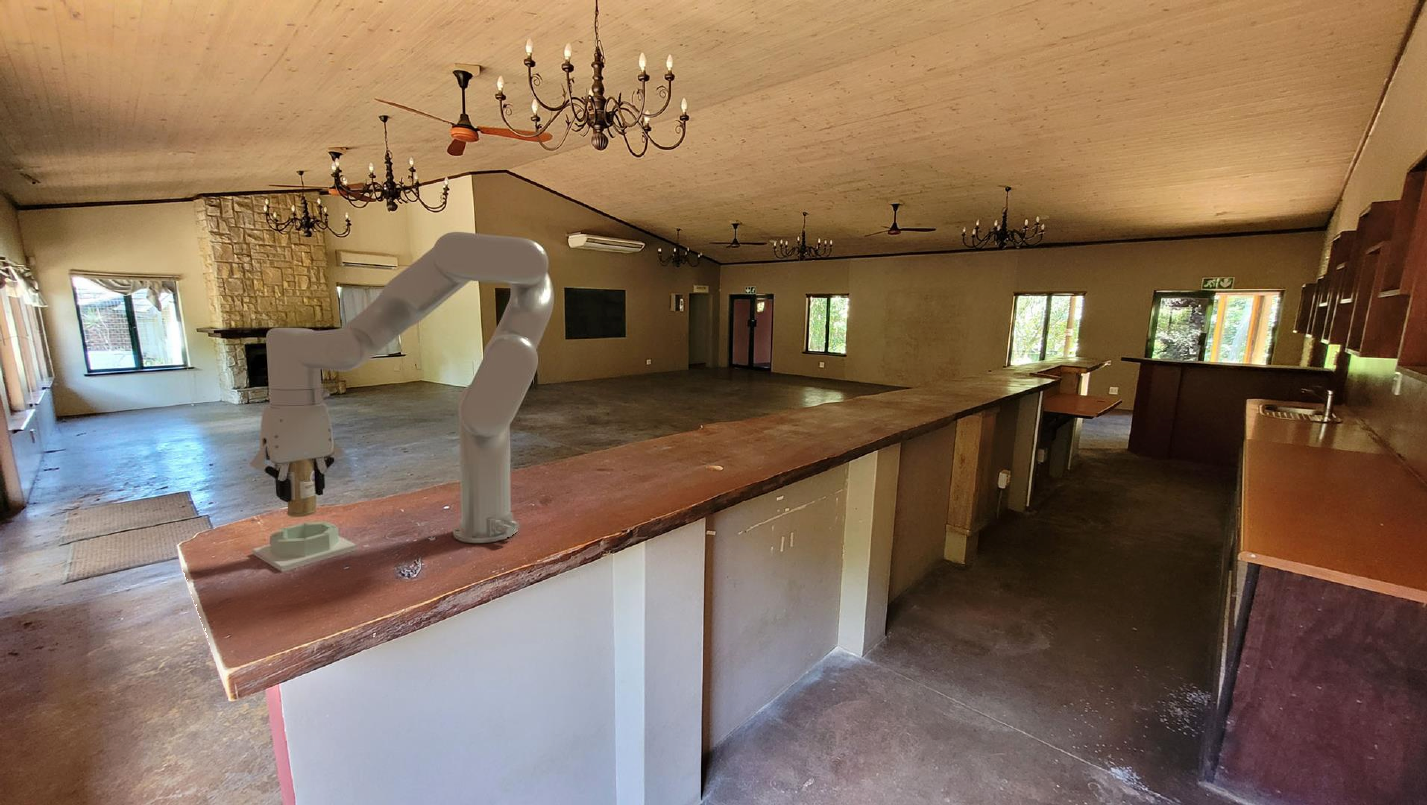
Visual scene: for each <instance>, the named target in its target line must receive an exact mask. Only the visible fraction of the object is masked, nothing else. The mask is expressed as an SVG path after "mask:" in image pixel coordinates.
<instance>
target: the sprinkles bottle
mask: <svg viewBox="0 0 1427 805" xmlns="http://www.w3.org/2000/svg"><path fill="white" fill-rule="evenodd" d="M302 454H306V452H304V453H302ZM287 479H288V480H290V485H291V501H290V502H286V504H287V513H286V514H287V516H289V517H290V518H291V517H292V518H301V517H307V516H311V515H313V514H315V513H317V512H318V507H317V499H316V498H317V497H316V495H317V494H316V487H315V471H314V459H302V460H299V461H296V462H292V463H289V468H288V472H287Z"/></svg>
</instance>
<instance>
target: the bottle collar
mask: <svg viewBox="0 0 1427 805" xmlns="http://www.w3.org/2000/svg"><path fill="white" fill-rule="evenodd" d="M357 550H358V544H357V543H355V542H353V541H350V540H348V539H347V538H343V537H342V536H339V526H337V525H336V524H333V523H331V522H329V521H321V522H320V521H318V522H316V521H315V522H313V521H312V522H302V523H298V524H294V525H290V526H285V527H281V528H279V529H278V530H277V531H275V532H273V533H272V534H271V535H269V544H267V545H263V546H259V547H256V548H252V555H254V556H256V557H257V558H259V559H260V560H262V561H263V562H265V563H266V564H268V565H270V566H272V567H274V568H275V569H276V570H278V571H279V572H282V573H283V572H287V571H291V570H294V569H296V568H301V567H304V566H307V565H310V564H315V563H318V562H320V561H324V560H327V559H330V558H334V557H337V556H341V555H345V554H349V553H350V552H354V551H357Z"/></svg>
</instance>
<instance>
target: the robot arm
mask: <svg viewBox="0 0 1427 805" xmlns="http://www.w3.org/2000/svg"><path fill="white" fill-rule="evenodd" d="M549 263H550V262H549V257H548V255H547V252H546V251H545V249H544V247H542V246H541V245H540V244H539V243H537V242H536V241H534V240H532V239H529V238H525V237H518V236H516V237H514V236H505V235H492V234H482V233H476V232H465V231H464V232H463V231H452V232H451V231H450V232H448V233H445V234H443V235H441V236H440V237H439V238H438V239H437V240H436V241H435V243H434V245H433V247H432V248H431V249H429V250H428V251H427V252H425V253H424V254H423V255H421V257H419V258H418V259H417V260H416V261H414V262H413V263H411V264H410V265H409V266H408V267H406V268H405V269H404V270H402V271H401V272H399V274H397V275H396V276H394V277H393V278H392V279H391V280H389V281H388V283H386V284H385V286H384V287H383V289H382V290H381V291H380V293H379V295H378V296H377V297H376V298H375V299H374V300H373V301H372V302H371V303H370V304H369V305H368V306H367V307H366V308H365V309H363V310H362V311H361V312H359V313H358V314H357V315H356V316H355V317H353V318H352V319H351V320H349V321H348V322H347V323H345V324H344V325H342V326H341V327H339V328H335V329H327V330H314V329H312V328H311V329H309V328H303V327H273V328H271V329H269V330H268V331H267V333H266V338H265V339H266V340H265V341H266V343H265V344H266V358H267V359H266V361H267V376H268V378H267V379H268V391H269V392H268V393H269V394H268V395H269V405H265V406H264V407H263V411H262V416H261V421H260V422H261V424H260V433H259V434H260V436H259V440H260V441H259V451H258V452H257V453H256V455H255V456H254V457H253V459H252V460H251V461H250V463H249V466H250V467H252V468H255V469H256V470H259V471H262V472H264V473H265V474H267V475H268V476H270V477H272V478H274V479H275V481H274V484H275V495H276V497H277V498H279V500H281V501H282V502H285V503H287V502H290V501H291V485H290V480H288V479H287V472H288V468H289V463H292V462H296V461H299V460H302V459H314V471H315V487H316V495H317V496H323V495H324V489H325V488H326V480H325V479H326V477H325V474H326V473H327V472H328V469H329V468H330V467H331V466H332V465H333V464H334V462H335V461H336V460H337V459H339V458H340V457H341V456H342V455H343V454H344V453H345V452H344V450H343V449H342V448H341V447H340V446H339V445H338V443H336V442H335V440H334V434H333V426H332V420H331V418H330V417H331V416H330V414H329V410H328V407H327V404H326V403H325V402H324V398H326V397H330V395H331V391H330V389H328V388H327V389H324V388H323V386H322V375H321V374H322V373H321V370H325V371H333V372H349V371H353V370H356V369H358V368H360V367H361V366H363V365H364V364H366V363H367V362H369V361H370V360H371V359H372V358H374V356H376V355H377V354H379V352H381V351H382V350H383V349H384V348H385V347H386V346H387V347H388V345H389V344H390V343H392V342H394V341H395V340H396V339H397V338H398V337H399V336H400V335H402V334H403V333H405V331H407V330H408V329H410V328H411V327H413V326H415V325H416V324H417V325H418V324H419V323H420V322H422V320H423V319H425V318H426V317H427V316H429V315H430V314H432V313H433V311H434V310H436V309H438V308H439V307H440V305H443V303H444V302H446V301H447V300H448V299H449V298H451V297H452V296H453V295H454V294H456V293H457V292H459V291H460V290H461V289H462V288H464V286H466V285H467V284H468V283H470V282H471V281H472V282H480V283H481V282H483V283H496V284H497V283H498V284H508V286H509V289H510V294H509V295H510V296H509V301H508V303H507V305H506V307H505V310H504V312H503V314H502V316H501V319H500V321H499V323H498V325H497V326H496V329H495V330H494V333H493V335H492V336H491V338H490V340H489V341H488V342H487V344H486V345H485V348H484V350H483V358H482V360H481V361H480V365H479V367H478V369H477V371H476V372H475V375H474V377H473V378H472V381H471V383H470V384H469V385H467V386H466V387H464V389H463V390H462V391H461V393H460V396H459V398H458V402H457V403H458V404H457V406H458V408H457V410H458V412H457V413H458V430H459V473H460V474H459V475H460V478H459V480H460V483H459V484H460V507H461V508H460V516H461V517H460V518H461V519H460V520H461V521H460V522H461V523H458V524H457V525H456V526H455V527H454V528H453V529H452V530H453V531H452V536H453V538H454V539H456V540H457V541H460V542H462V543H467V544H486V543H487V544H488V543H494V542H499V540H500V541H503V540H506V539H508V538H507V537H509V538H511V537H513V536H514V535H515V533H516V532H517V533H518V531H519V529H518V528H520V527H521V526H520V523H519V522H518V521H517V520H515V519H514V513H513V512H511V511H512V508H511V503H512V502H511V500H512V499H511V431H510V428H511V427H510V425H511V423H512V422H513V420H514V418H515V416H516V414H517V412H518V411H519V408H520V406H521V404H522V402H523V400H524V398H525V397H526V394H527V392H528V391H529V388H530V386H531V384H532V382H533V379H534V377H535V374H536V372H537V368H538V365H539V356H538V352H537V349H538V346H539V344H540V342H541V340H542V338H543V336H544V333H545V330H546V328H547V326H548V323H549V322H550V318H551V316H552V312H553V309H554V303H555V302H554V301H555V294H554V288H553V287H554V286H553V283H552V282H553V281H552V280H551V279H552V278H550V274H549V273H548V270H549V265H550V264H549ZM304 452H306V454H302V453H304ZM266 461H270V463H272V464H273V466H270V465H269V464H267V463H265V462H266ZM517 533H516V534H517ZM513 534H514V535H513ZM512 535H513V536H512Z"/></svg>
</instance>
